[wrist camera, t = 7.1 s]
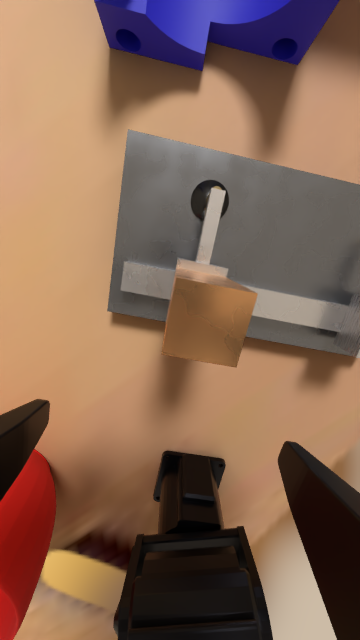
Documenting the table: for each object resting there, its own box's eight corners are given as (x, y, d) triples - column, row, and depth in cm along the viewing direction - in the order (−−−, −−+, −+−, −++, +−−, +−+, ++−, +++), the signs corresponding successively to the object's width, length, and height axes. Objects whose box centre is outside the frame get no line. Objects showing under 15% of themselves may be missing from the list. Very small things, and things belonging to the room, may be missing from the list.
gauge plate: (357, 352, 21) (410, 381, 16) (112, 306, 19) (92, 324, 15) (421, 208, 18) (511, 193, 13) (132, 140, 16) (113, 94, 11)
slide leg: (206, 318, 18) (233, 378, 9) (167, 311, 17) (159, 366, 9) (234, 199, 15) (303, 137, 7) (190, 189, 15) (207, 113, 7)
